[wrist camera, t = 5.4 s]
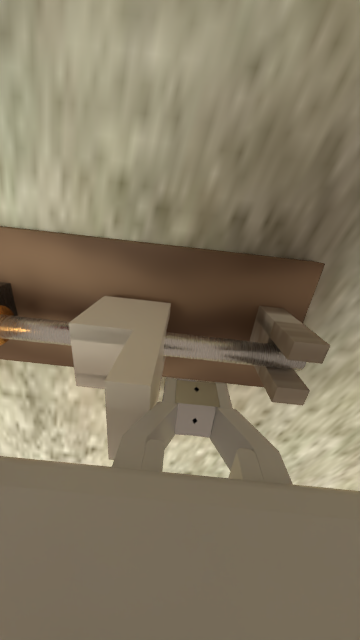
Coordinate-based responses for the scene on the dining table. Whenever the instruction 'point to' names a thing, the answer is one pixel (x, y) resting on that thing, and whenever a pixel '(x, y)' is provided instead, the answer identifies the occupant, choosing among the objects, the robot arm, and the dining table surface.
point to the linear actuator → (168, 299)
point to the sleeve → (121, 358)
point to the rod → (6, 324)
